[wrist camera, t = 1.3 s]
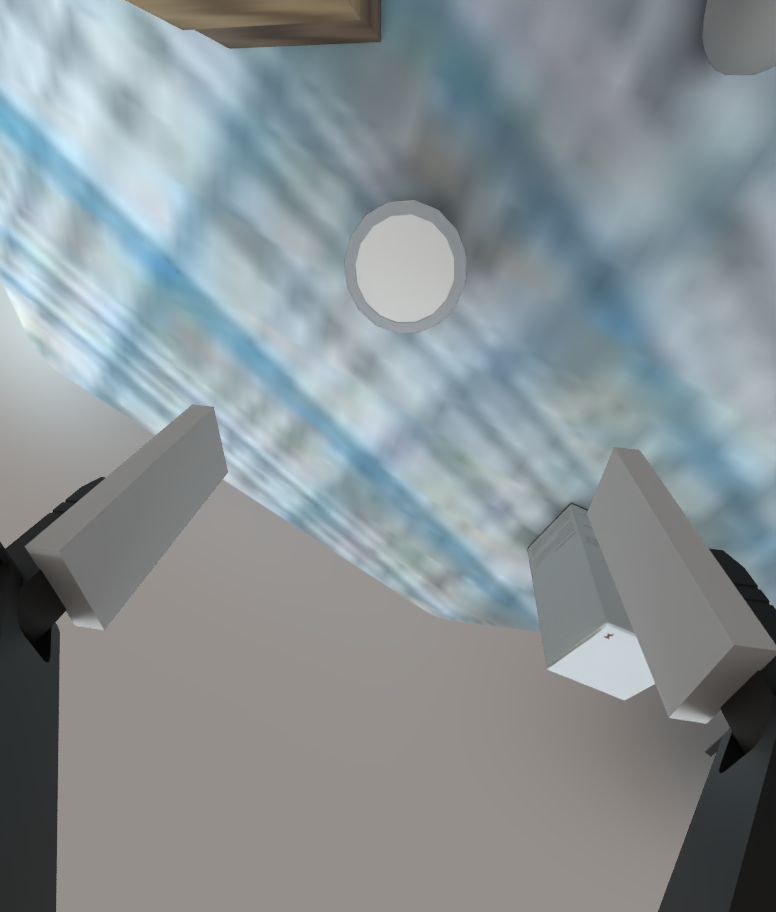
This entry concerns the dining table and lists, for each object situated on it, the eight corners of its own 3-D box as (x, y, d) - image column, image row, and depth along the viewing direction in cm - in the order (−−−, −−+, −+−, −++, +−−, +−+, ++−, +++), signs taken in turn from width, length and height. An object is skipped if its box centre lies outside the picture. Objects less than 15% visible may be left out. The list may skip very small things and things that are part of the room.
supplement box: (524, 548, 42) (542, 670, 32) (571, 500, 38) (609, 622, 27) (586, 576, 43) (623, 704, 32) (639, 532, 38) (701, 663, 28)
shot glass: (479, 203, 26) (481, 210, 20) (456, 312, 30) (452, 343, 24) (373, 187, 27) (347, 189, 21) (364, 296, 31) (340, 324, 25)
